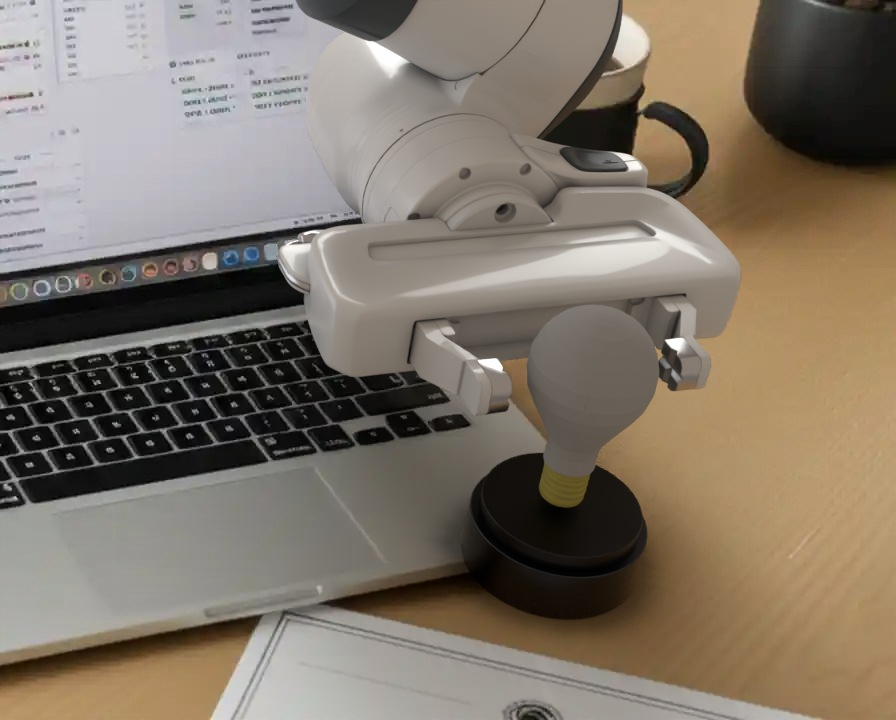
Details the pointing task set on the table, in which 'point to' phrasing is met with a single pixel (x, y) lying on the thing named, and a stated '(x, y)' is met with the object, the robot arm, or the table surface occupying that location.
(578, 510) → the black round lamp base
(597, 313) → the light bulb
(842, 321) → the table surface
